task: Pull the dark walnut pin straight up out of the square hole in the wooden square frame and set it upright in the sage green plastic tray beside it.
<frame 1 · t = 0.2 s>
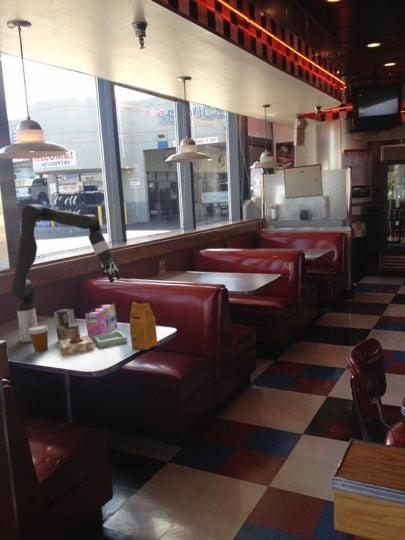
hand: (116, 280, 252), 31 cm above the table, tool tilted 20°, fingers open, 8 cm apart
pin: (75, 337, 247), in the wooden square frame
wooden square frame: (76, 348, 248), on the table
coffee package: (144, 347, 241), on the table
gum box: (103, 332, 275), on the table
disposable coffee cup: (41, 351, 251), on the table
tray: (110, 342, 255), on the table
coffee box: (68, 340, 267), on the table
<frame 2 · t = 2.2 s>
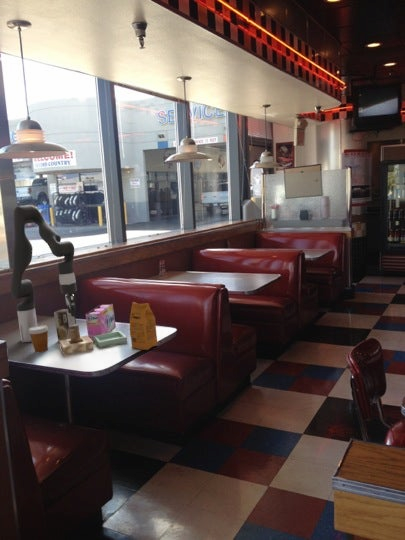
hand: (72, 314, 245), 18 cm above the table, tool pointing down, fingers open, 8 cm apart
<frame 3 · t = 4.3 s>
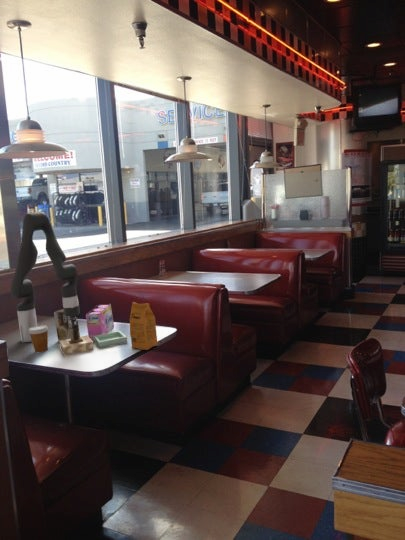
hand: (75, 338, 247), 5 cm above the table, tool pointing down, fingers closed on pin, 4 cm apart
pin: (75, 337, 247), in the wooden square frame, touching gripper
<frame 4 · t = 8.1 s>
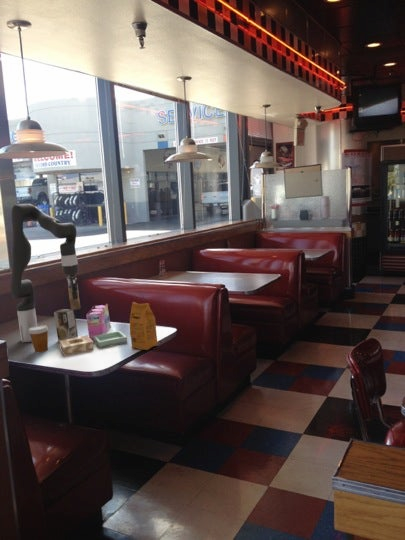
hand: (74, 298, 245), 26 cm above the table, tool pointing down, fingers closed on pin, 4 cm apart
pin: (74, 296, 245), point 26 cm above the table, touching gripper
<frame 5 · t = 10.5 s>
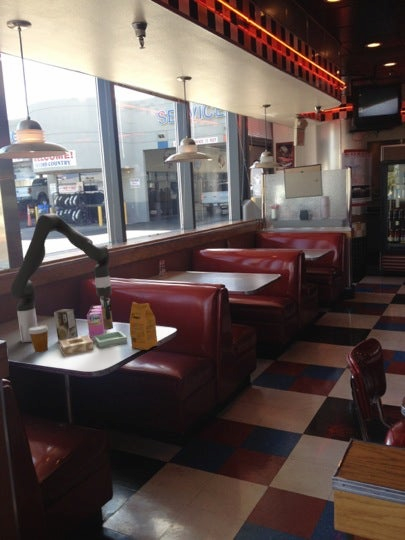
hand: (107, 318, 253), 13 cm above the table, tool pointing down, fingers closed on pin, 4 cm apart
pin: (107, 316, 253), point 13 cm above the table, touching gripper
when the fingers open (8 cm above the table, at t = 12.3 s): pin drops 1 cm, resting on tray.
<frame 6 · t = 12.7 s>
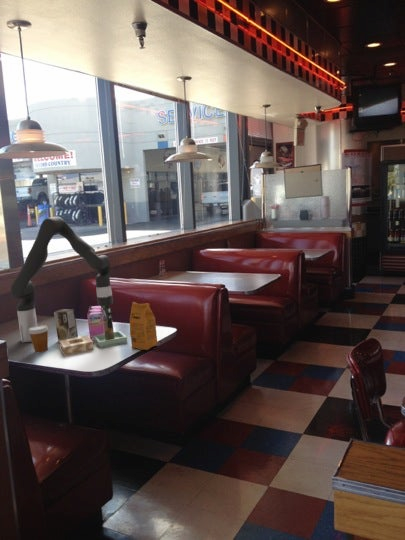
hand: (108, 326, 253), 8 cm above the table, tool pointing down, fingers open, 8 cm apart
pin: (108, 329, 254), in the tray, point 7 cm above the table
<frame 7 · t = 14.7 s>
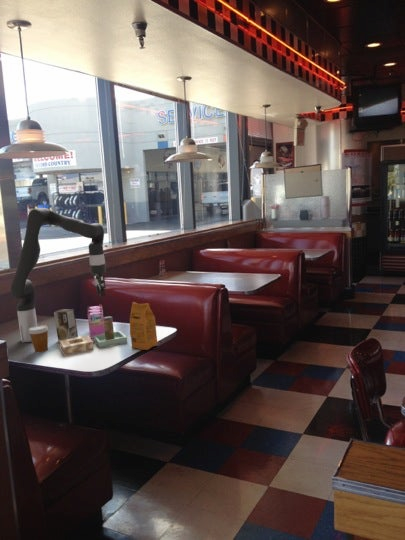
hand: (101, 295, 252), 25 cm above the table, tool pointing down, fingers open, 8 cm apart
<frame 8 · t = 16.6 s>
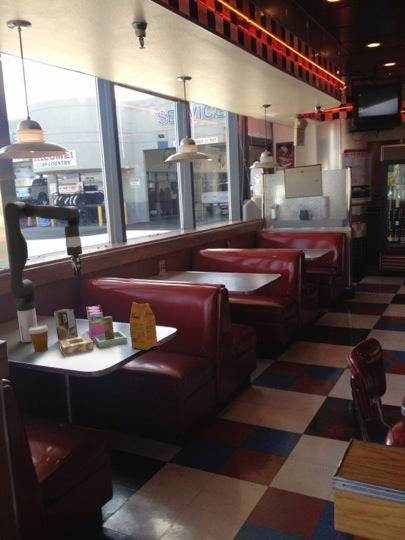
hand: (77, 276, 256), 34 cm above the table, tool pointing down, fingers open, 8 cm apart
at the end: pin inside the target area on the tray (0.1 cm from its centre), point 6.9 cm above the tray's base; pin tilted 2°; the gripper is holding nothing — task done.
